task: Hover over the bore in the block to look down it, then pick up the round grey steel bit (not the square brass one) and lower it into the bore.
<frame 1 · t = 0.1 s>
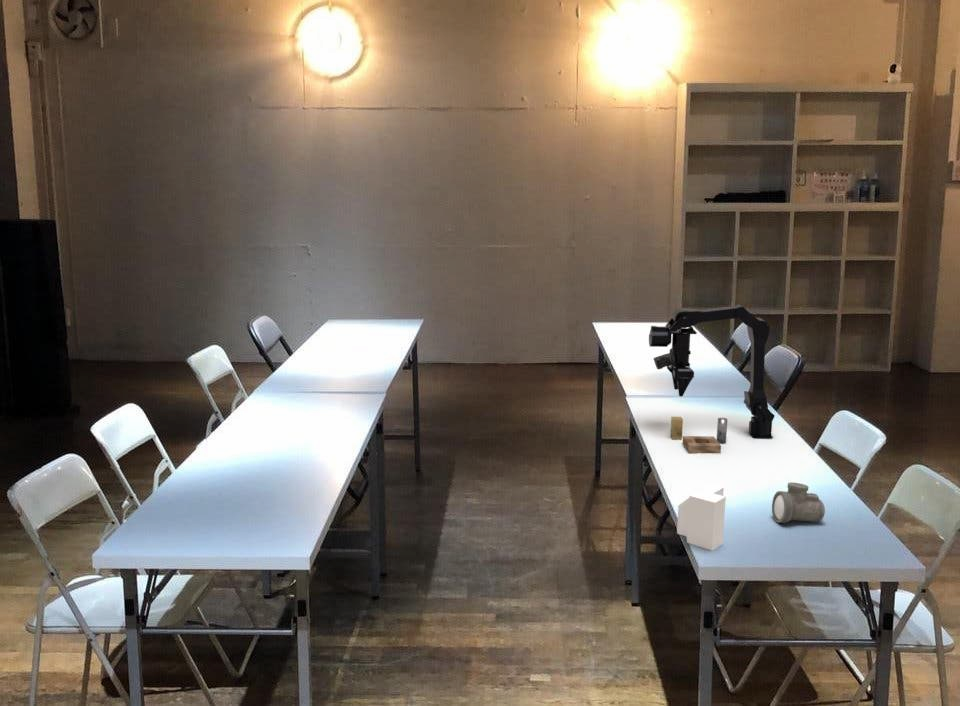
hand: (678, 392, 308), 15 cm above the table, fingers open, 9 cm apart
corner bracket: (701, 538, 227), on the table
square bit: (676, 438, 307), on the table
pipe fitting: (798, 522, 238), on the table
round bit: (721, 442, 303), on the table
bore block: (701, 448, 297), on the table
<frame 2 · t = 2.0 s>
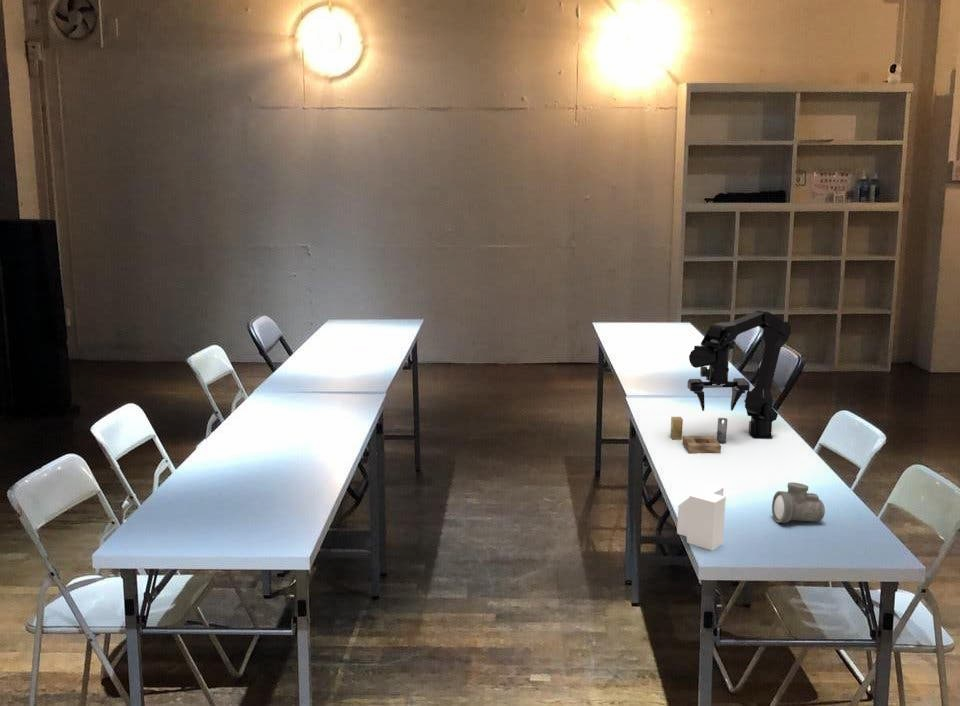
hand: (717, 410, 299), 11 cm above the table, fingers open, 9 cm apart
nothing on the table moved.
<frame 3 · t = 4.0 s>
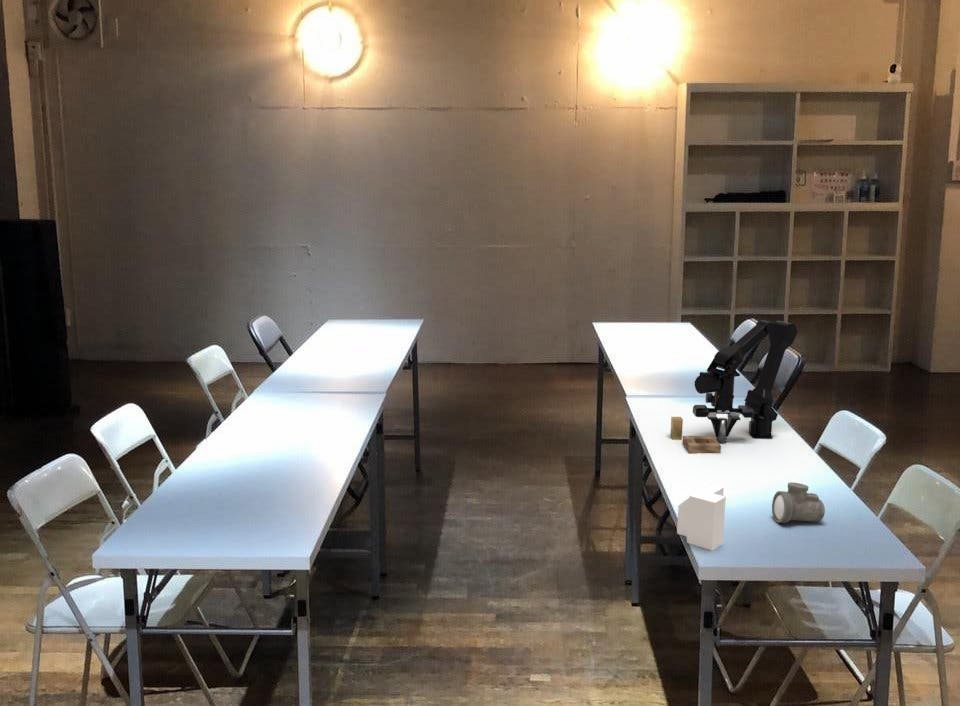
hand: (721, 436, 303), 2 cm above the table, fingers closed on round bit, 3 cm apart
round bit: (721, 442, 303), on the table, touching gripper
everything else where it was.
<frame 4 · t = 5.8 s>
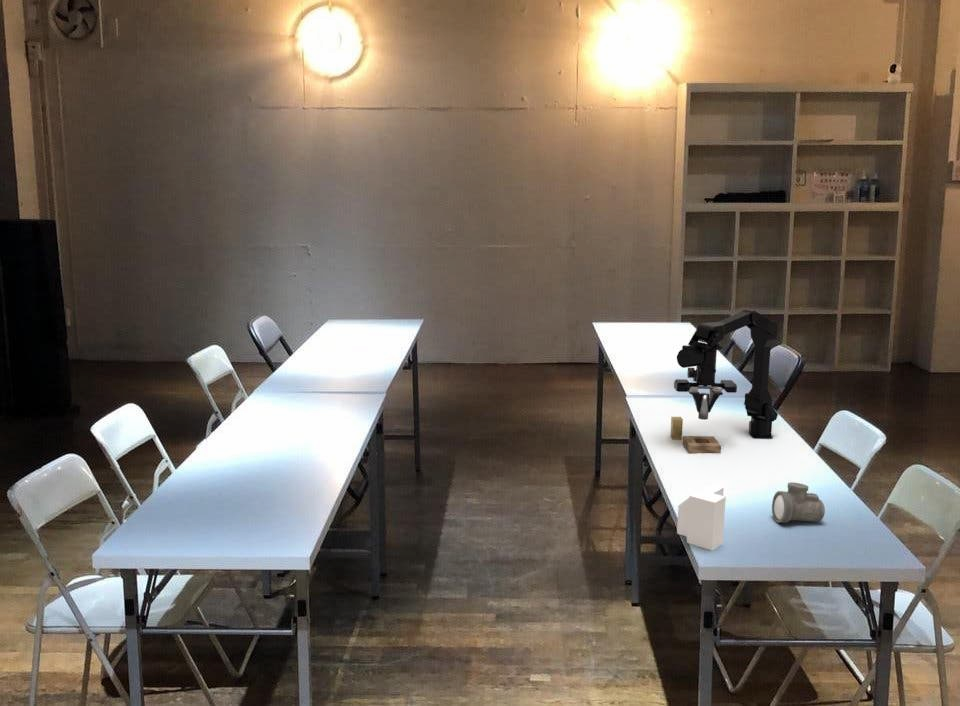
hand: (703, 412, 294), 12 cm above the table, fingers closed on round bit, 3 cm apart
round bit: (703, 418, 295), point 10 cm above the table, touching gripper
everything else where it was.
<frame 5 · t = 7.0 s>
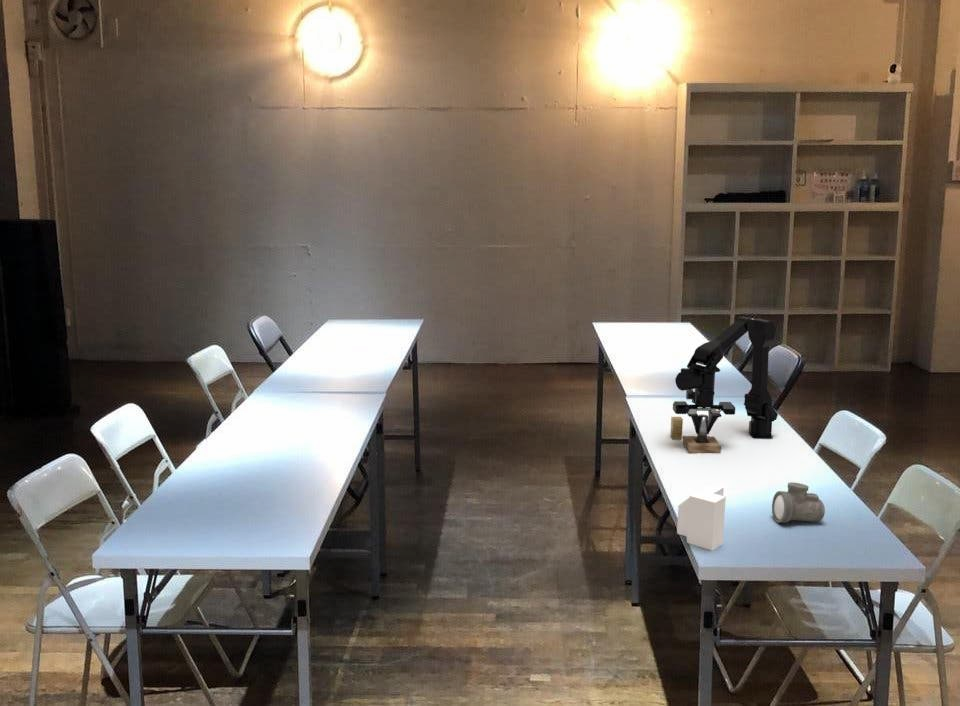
hand: (702, 433, 296), 5 cm above the table, fingers closed on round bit, 3 cm apart
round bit: (701, 439, 296), point 3 cm above the table, touching gripper
everything else where it was.
when the fingers open (3 cm above the table, at t = 8.0 s): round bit drops 1 cm, resting in bore block.
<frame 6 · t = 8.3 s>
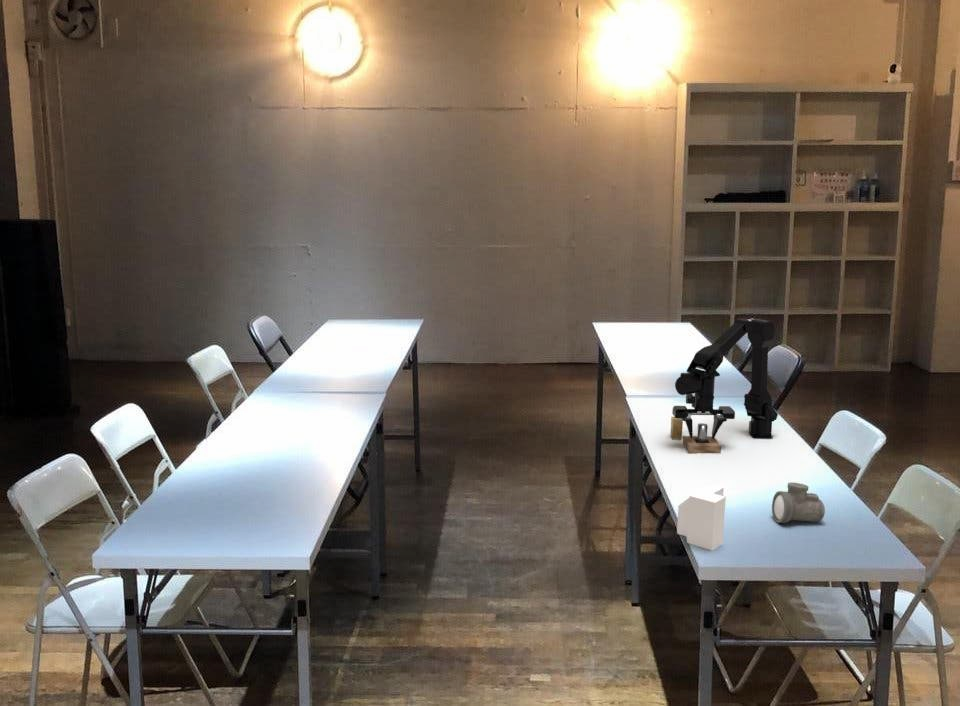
hand: (701, 438, 296), 3 cm above the table, fingers open, 7 cm apart
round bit: (701, 448, 297), resting in bore block
everything else where it was.
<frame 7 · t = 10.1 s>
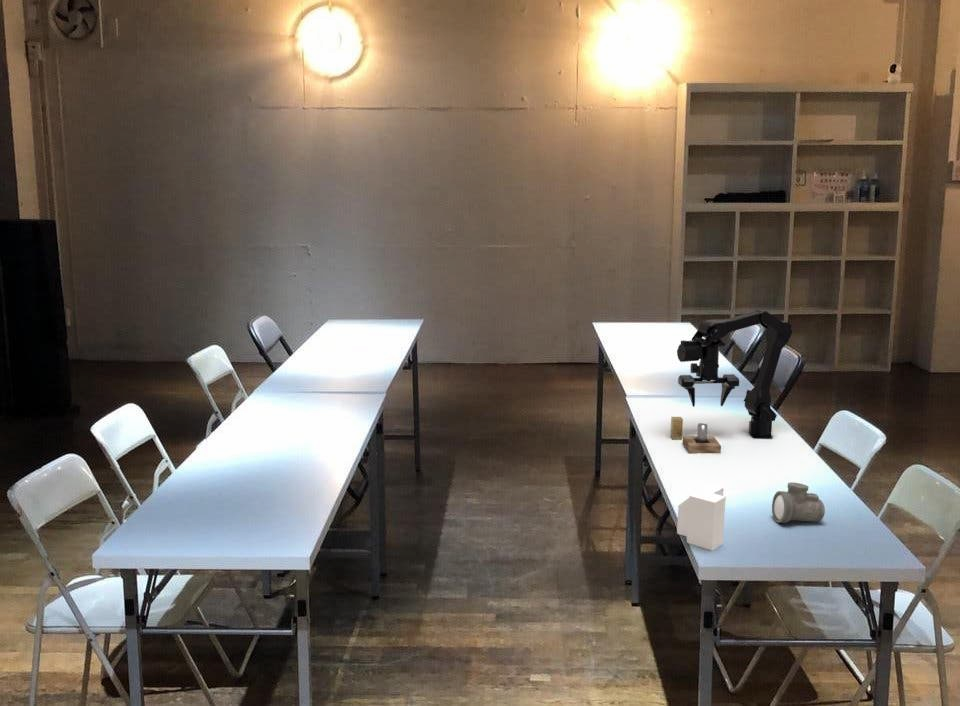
hand: (707, 406, 303), 12 cm above the table, fingers open, 9 cm apart
nothing on the table moved.
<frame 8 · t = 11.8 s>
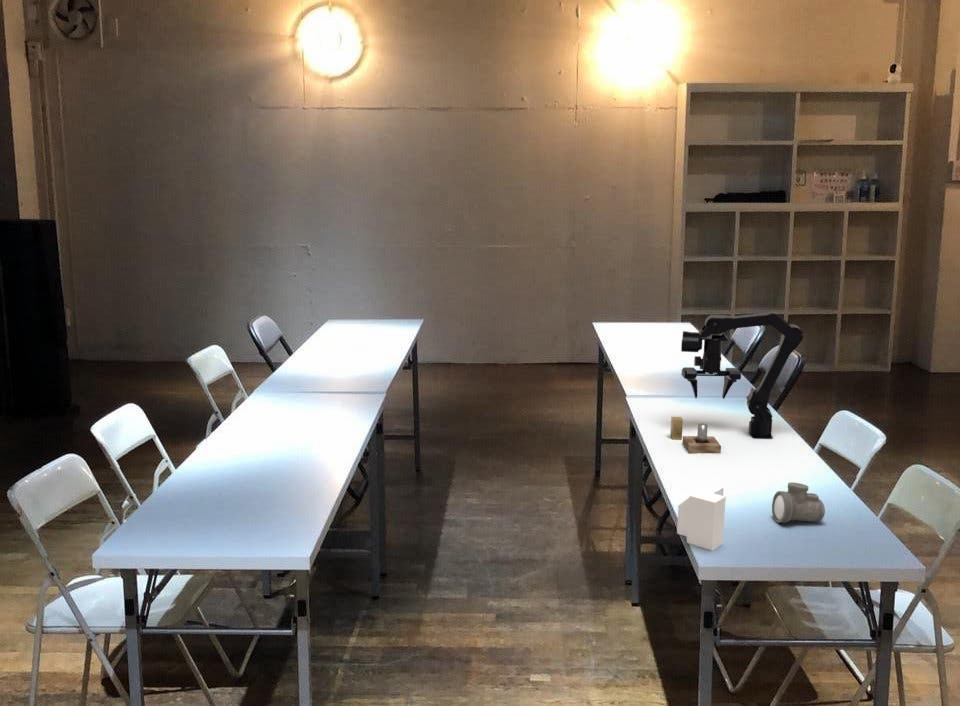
hand: (709, 398, 312), 12 cm above the table, fingers open, 9 cm apart
nothing on the table moved.
at the end: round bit 0.0 cm off-centre on the bore block, point 0.0 cm above the bore block's base; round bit tilted 0°; square bit moved 0.0 cm from its start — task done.
